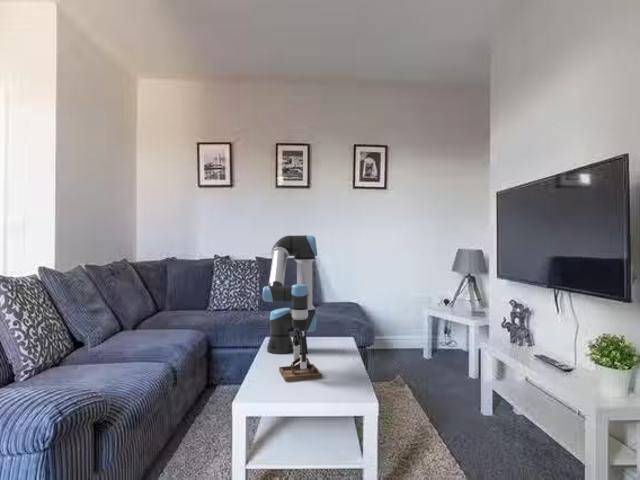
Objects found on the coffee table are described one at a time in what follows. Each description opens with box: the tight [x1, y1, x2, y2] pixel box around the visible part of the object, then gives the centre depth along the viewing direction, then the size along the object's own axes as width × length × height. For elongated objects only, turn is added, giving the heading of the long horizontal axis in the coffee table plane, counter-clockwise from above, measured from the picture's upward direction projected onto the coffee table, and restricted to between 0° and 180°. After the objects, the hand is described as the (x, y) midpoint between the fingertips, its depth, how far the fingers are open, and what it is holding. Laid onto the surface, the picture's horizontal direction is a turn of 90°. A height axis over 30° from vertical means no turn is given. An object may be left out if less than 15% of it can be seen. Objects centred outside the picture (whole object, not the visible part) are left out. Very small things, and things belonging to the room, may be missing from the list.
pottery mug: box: [289, 357, 313, 374], centre depth 193 cm, size 12×10×8 cm
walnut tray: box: [278, 363, 323, 383], centre depth 192 cm, size 16×17×2 cm
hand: (300, 364), depth 192 cm, fingers open, 13 cm apart
